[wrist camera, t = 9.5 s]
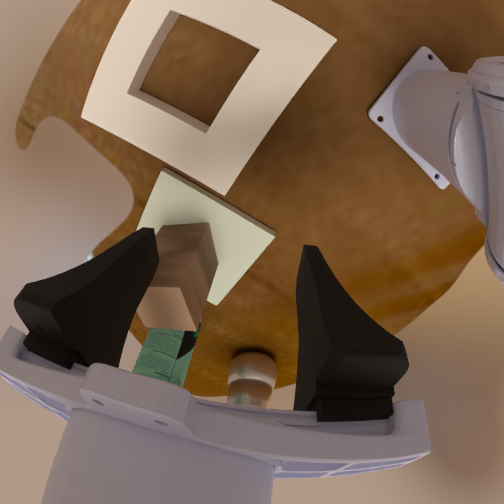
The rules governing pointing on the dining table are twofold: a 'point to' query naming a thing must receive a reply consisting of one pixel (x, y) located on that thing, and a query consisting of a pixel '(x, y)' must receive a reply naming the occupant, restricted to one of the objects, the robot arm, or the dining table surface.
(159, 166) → the dining table surface
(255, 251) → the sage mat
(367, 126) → the dining table surface
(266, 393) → the plastic bottle
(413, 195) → the dining table surface
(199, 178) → the socket board
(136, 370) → the spray can
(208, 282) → the walnut block
